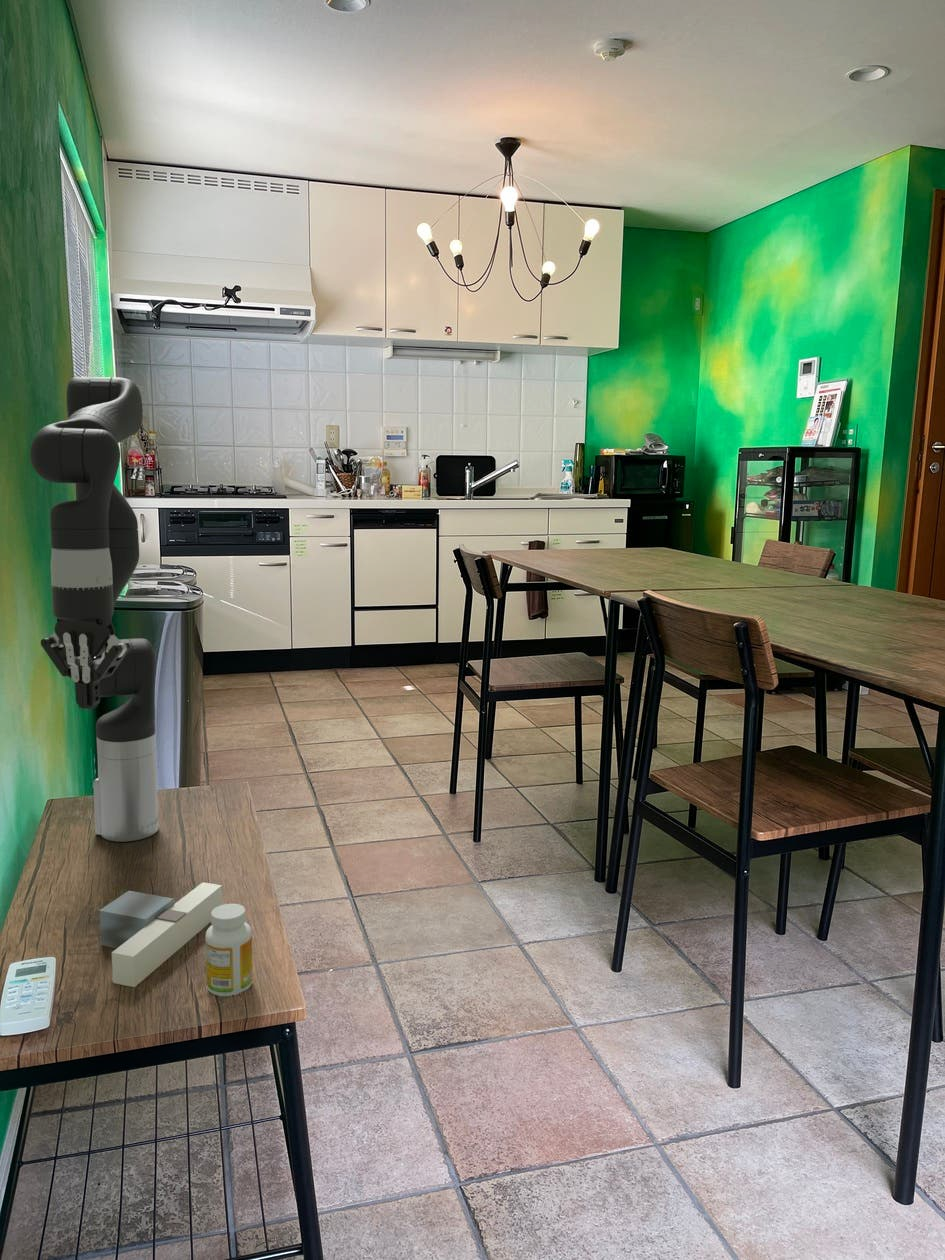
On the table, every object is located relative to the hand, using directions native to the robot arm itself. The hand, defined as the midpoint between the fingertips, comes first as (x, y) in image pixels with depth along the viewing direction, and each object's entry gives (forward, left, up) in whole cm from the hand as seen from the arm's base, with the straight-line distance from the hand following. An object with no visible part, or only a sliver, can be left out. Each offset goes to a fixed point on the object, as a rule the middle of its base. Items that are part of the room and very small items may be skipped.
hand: (88, 707), depth 125 cm
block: (+11, -6, -29) cm, 32 cm away
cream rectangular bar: (+16, -6, -29) cm, 34 cm away
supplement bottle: (+28, -12, -29) cm, 42 cm away
